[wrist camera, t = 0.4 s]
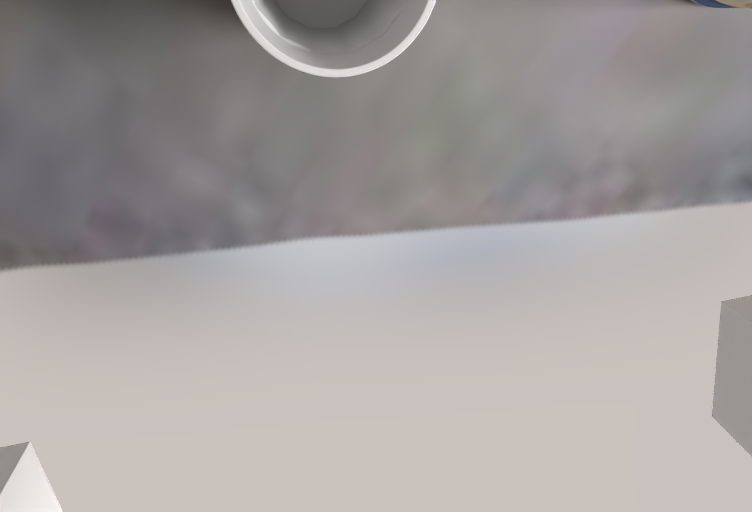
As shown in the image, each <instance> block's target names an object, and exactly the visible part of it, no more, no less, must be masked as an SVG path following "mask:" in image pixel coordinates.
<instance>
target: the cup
mask: <svg viewBox="0 0 752 512" xmlns="http://www.w3.org/2000/svg"><path fill="white" fill-rule="evenodd" d="M231 2H232V4H233V7H234V9H235V11H236V13H237V15H238V17H239V18H240V20H241V22H242V23H243V25H244V26H245V28H246V29H247V31H248V32H249V33H250V35H251V36H252V37H253V38H254V39H255V40H256V41H257V43H258V44H259V45H260V46H261V47H263V48H264V49H265V50H266V51H267V52H268V53H269V54H271V55H272V56H273V57H275V58H276V59H278V60H279V61H281V62H283V63H284V64H286V65H288V66H290V67H292V68H294V69H297V70H299V71H302V72H305V73H308V74H312V75H317V76H324V77H347V76H354V75H359V74H362V73H366V72H369V71H371V70H374V69H376V68H378V67H380V66H382V65H384V64H386V63H388V62H389V61H391V60H392V59H394V58H395V57H397V56H398V55H399V54H400V53H402V52H403V51H404V50H405V49H406V48H407V47H408V46H409V45H410V44H411V43H412V42H413V40H414V39H415V38H416V37H417V36H418V34H419V33H420V31H421V30H422V28H423V27H424V25H425V24H426V22H427V20H428V18H429V16H430V14H431V12H432V10H433V7H434V5H435V2H436V0H231Z"/></svg>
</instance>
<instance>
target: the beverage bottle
mask: <svg viewBox="0 0 752 512" xmlns="http://www.w3.org/2000/svg"><path fill="white" fill-rule="evenodd" d="M691 1H693V2H695V3H697V4H700V5H703V6H707V7H714V8H751V9H752V0H691Z"/></svg>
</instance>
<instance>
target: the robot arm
mask: <svg viewBox="0 0 752 512" xmlns="http://www.w3.org/2000/svg"><path fill="white" fill-rule="evenodd" d="M712 416H713V418H714V419H715V420H716V421H717V422H718V423H719V424H720V425H721V426H722V427H723V428H724V429H725V430H726V431H727V432H728V433H729V434H730V435H731V436H732V437H733V438H734V439H735V440H736V441H737V442H738V443H739V444H740V445H741V446H742V447H743V448H744V449H745V450H746V451H747V452H748V453H749V454H750V455H751V456H752V295H751V296H746V297H742V298H736V299H731V300H727V301H722V302H721V314H720V325H719V339H718V350H717V362H716V374H715V386H714V399H713V411H712ZM0 512H63V511H62V509H61V506H60V504H59V502H58V501H57V498H56V496H55V494H54V492H53V490H52V488H51V485H50V483H49V481H48V479H47V477H46V475H45V473H44V471H43V469H42V466H41V464H40V462H39V460H38V458H37V456H36V454H35V451H34V449H33V447H32V445H31V443H30V442H26V443H22V444H16V445H11V446H7V447H1V448H0Z"/></svg>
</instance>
